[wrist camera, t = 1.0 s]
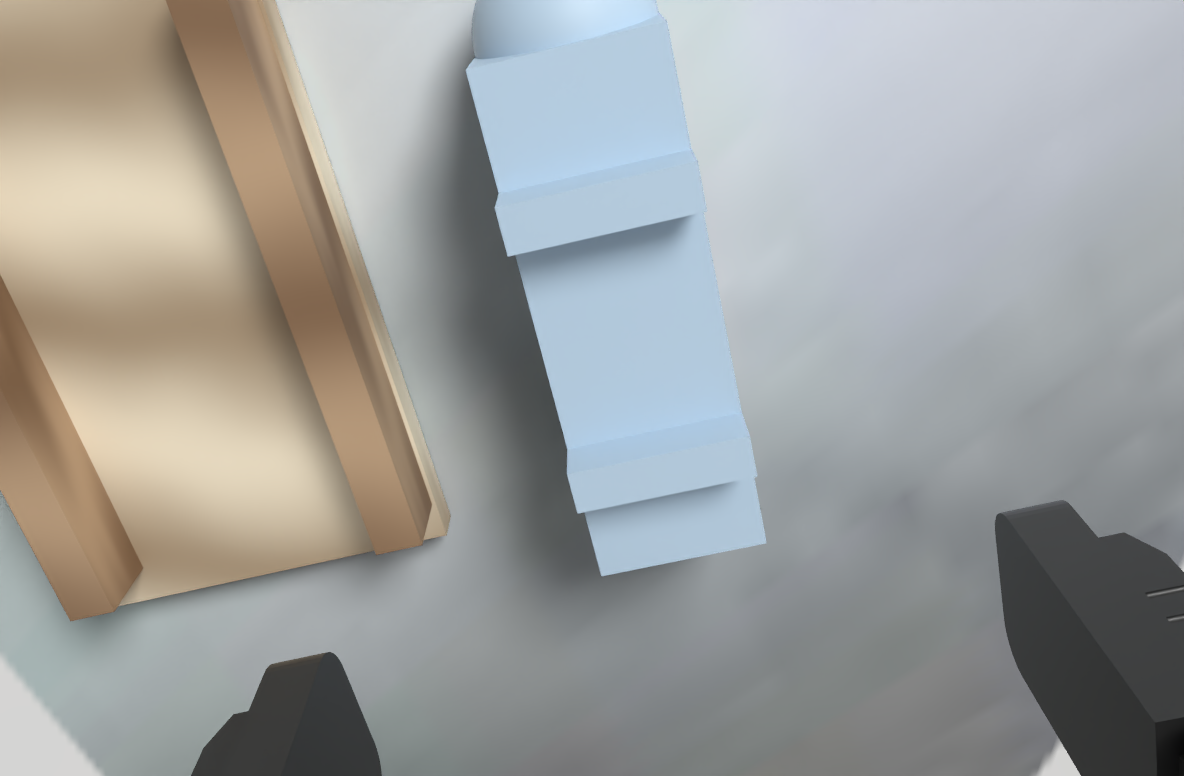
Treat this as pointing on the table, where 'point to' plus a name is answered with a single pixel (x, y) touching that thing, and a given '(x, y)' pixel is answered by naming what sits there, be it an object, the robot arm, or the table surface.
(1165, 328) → the table surface
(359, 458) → the jig
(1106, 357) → the table surface
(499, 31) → the light blue stepped block
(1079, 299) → the table surface
